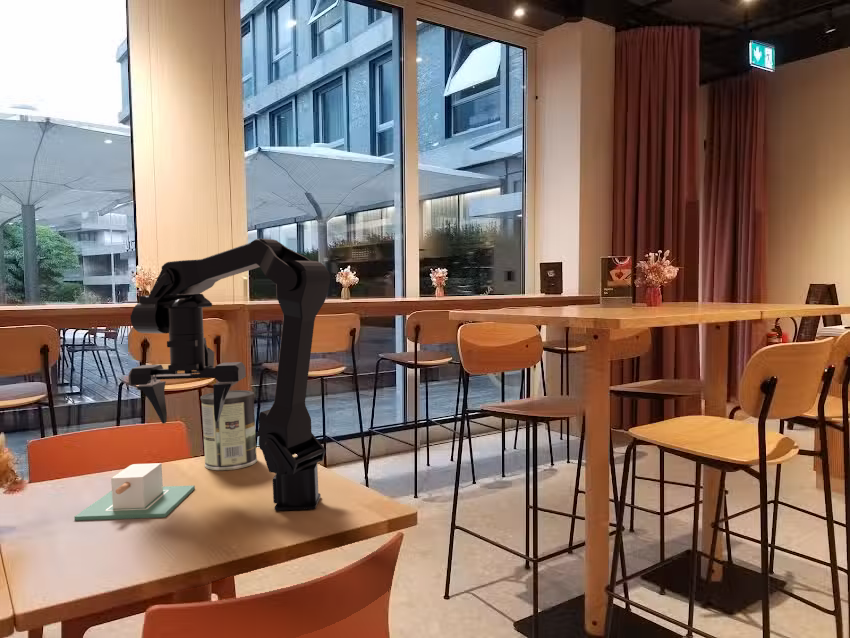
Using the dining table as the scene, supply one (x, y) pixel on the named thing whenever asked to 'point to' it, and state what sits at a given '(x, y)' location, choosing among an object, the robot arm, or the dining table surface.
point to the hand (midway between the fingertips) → (190, 422)
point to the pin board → (153, 510)
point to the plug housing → (137, 486)
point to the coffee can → (229, 431)
